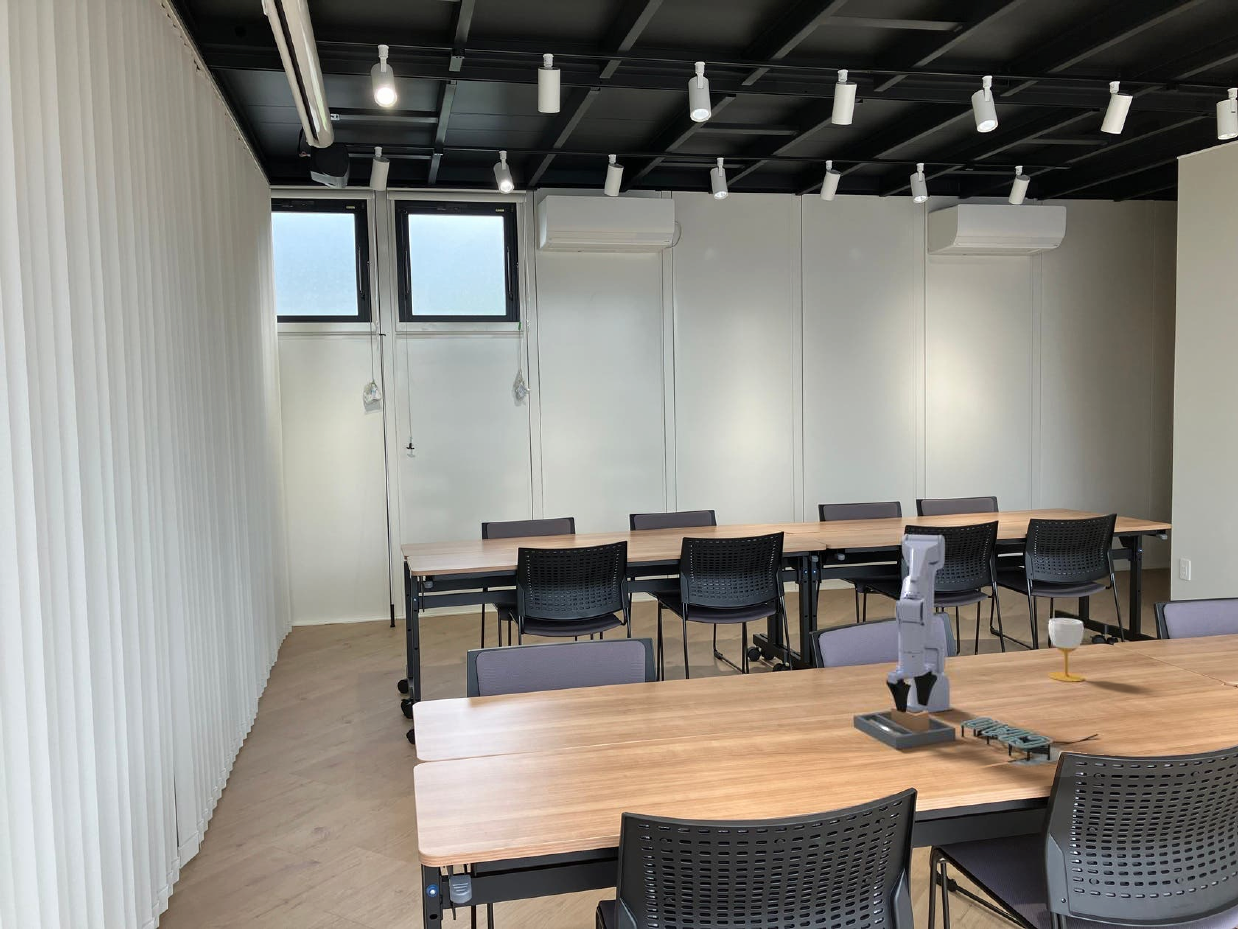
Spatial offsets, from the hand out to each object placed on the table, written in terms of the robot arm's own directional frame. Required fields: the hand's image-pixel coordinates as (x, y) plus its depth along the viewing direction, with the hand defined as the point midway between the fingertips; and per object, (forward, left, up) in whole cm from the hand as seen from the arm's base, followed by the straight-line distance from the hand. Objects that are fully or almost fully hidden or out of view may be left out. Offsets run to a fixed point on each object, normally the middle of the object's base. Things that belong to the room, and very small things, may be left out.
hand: (912, 708), depth 198 cm
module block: (0, 0, -6) cm, 6 cm away
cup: (-68, -21, -6) cm, 72 cm away
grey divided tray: (+3, 0, -6) cm, 6 cm away
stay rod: (+8, 0, -5) cm, 9 cm away
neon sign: (-21, +14, -7) cm, 26 cm away
